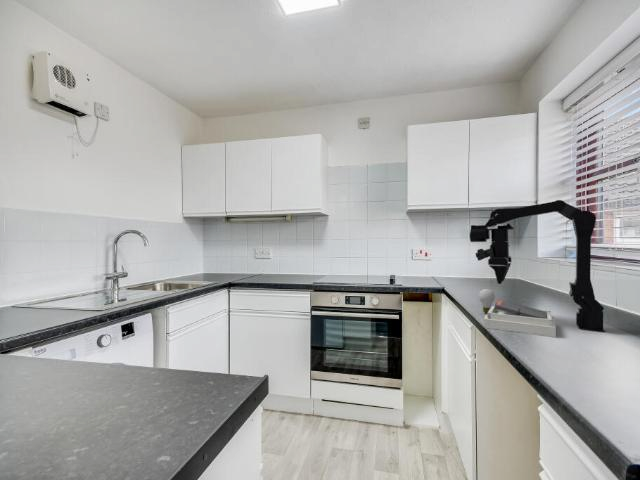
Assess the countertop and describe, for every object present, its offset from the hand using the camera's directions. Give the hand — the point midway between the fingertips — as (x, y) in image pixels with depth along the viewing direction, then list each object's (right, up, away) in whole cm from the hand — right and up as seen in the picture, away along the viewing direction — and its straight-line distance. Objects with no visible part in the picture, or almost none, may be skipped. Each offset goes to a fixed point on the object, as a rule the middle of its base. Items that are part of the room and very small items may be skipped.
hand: (500, 282), depth 123 cm
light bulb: (-1, -14, +8) cm, 16 cm away
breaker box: (0, -14, -11) cm, 18 cm away
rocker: (0, -8, -12) cm, 14 cm away
